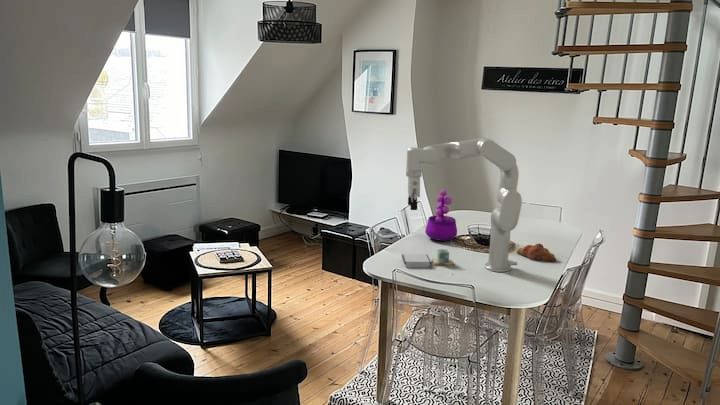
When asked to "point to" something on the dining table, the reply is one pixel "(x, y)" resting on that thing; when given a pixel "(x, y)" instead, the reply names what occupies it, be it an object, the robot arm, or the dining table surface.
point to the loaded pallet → (443, 258)
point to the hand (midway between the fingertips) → (412, 207)
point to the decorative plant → (441, 221)
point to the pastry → (536, 253)
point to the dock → (416, 260)
